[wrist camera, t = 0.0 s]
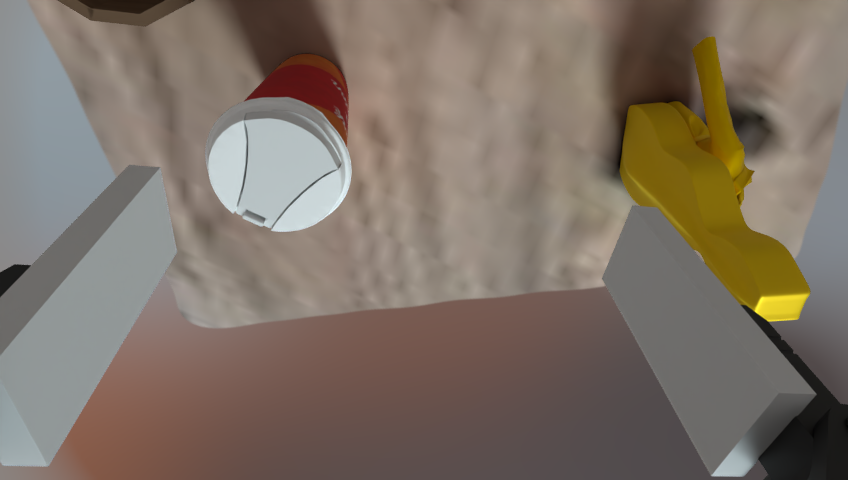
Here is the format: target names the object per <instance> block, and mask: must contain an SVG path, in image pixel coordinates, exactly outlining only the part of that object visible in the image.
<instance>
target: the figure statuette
mask: <svg viewBox="0 0 848 480" xmlns="http://www.w3.org/2000/svg"><path fill="white" fill-rule="evenodd" d="M692 52H693V56H694V60H695V64H696V68H697V72H698V77H699V82H700V87H701V92H702V97H703V103H704V109H705V114H706V119H707V124H708V128H707V127H706V125H705V124H704V123H703V121H702V120H701V119H700V118H699V117H698V116H697V115H696V114H694V113H693V112H692V111H691V110H690V109H688V108H687V107H686V106H684V105H683V104H682V103H681V102H678V101H674V102H670V103H662V102H659V103H649V104H638V105H631V106H629V108H628V114H627V121H626V127H625V133H624V138H623V147H622V156H621V164H620V174H621V178H622V180H623V183H624V185H625V187H626V189H627V191H628V193H629V194H630V196H631V197H632V199H633V200H634V201H635V202H636V203H637V204H638V205H640V206H645V207H657V208H658V209H659V210H660V211H661V213H662V214H663V215H664V216H665V217H666V218H667V220H668V221H669V222H670V223H671V224H672V225H673V227H674V228H675V229H676V230H677V231H678V233H679V234H680V235H681V236H682V237H683V238H684V240H685V241H686V242H687V243H688V244H689V245H690V247H691V248H692V249H693V250H696V251H698V252H699V253H700V254H701V255H702V257H703V259H704V262H705V264H706V265H707V266H708V268H709V269H710V270H711V271H712V272H713V273H714V275H715V276H716V277H717V278H718V279H719V280H720V282H721V283H722V284H723V285H724V286H725V288H726V289H727V290H728V291H729V292H730V293H731V295H732V296H733V297H734V298H735V299H736V300H737V302H738V303H739V304H740V305H746V306H748V307H749V308H751V309H752V310H753V311H755V312H756V313H757V314H759V315H760V316H761V317H763V318H764V319H766V320H767V321H783V320H796V319H798V318H799V315H800V312H801V310H802V308H803V306H804V303H805V301H806V299H807V298H808V296H809V295H810V288H809V286H808V284H807V282H806V280H805V278H804V277H803V275H802V273H801V271H800V270H799V268H798V266H797V264H796V262H795V260H794V259H793V257H792V255H791V254H790V252H789V251H788V250H787V249H786V248H785V246H784V245H782V244H781V243H780V242H779V241H777V240H776V239H774V238H772V237H769V236H767V235H764V234H761V233H758V232H755V231H753V230H751V229H750V228H749V227H748V226H747V225H746V223H745V221H744V218H743V216H742V213H741V209H740V206H741V205H742V201H743V200H744V187H745V186H747V185H748V184H749V183H751V182H752V178H751V176H752V175H753V173H754V171H752V170H749V169H748V168H747V167H746V166H745V164H744V157H745V153H744V149H743V148H744V146H743V144H742V143H741V142H740V141H739V139H738V137H737V135H736V133H735V131H734V129H733V125H732V120H731V117H730V113H729V109H728V106H727V101H726V93H725V87H724V81H723V77H722V72H721V68H720V63H719V57H718V52H717V47H716V40H715V37H707V38H705V39H703V40H702V41H701V42H700V43H699V44H697V45H696V46H695V47H694V48H693V49H692Z"/></svg>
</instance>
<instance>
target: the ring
mask: <svg viewBox="0 0 848 480" xmlns="http://www.w3.org/2000/svg"><path fill="white" fill-rule="evenodd" d="M58 1H59V2H61V3H63V4H64V5H66V6H68V7H69V8H71V9H73V10H74V11H76V12H78V13H79V14H81V15H83V16H84V17H86V18H88V19H89V20H92V21H101V22H110V23H119V24H128V25H137V26H147V25H149V24H151V23H153V22H155V21H156V20H158V19H160V18H162V17H164V16H166V15H168V14H170V13H172V12H174V11H175V10H177V9H179V8H181V7H183V6H185V5H187V4H189V3H191V2H193V1H194V0H58Z"/></svg>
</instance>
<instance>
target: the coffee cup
mask: <svg viewBox="0 0 848 480" xmlns="http://www.w3.org/2000/svg"><path fill="white" fill-rule="evenodd" d="M347 134H348V88H347V84H346V81H345V79H344V77H343V75H342V73H341V72H340V70H339V69H338V68H337V67H336V66H335V65H334V64H333V63H332V62H330V61H329V60H327V59H325V58H323V57H321V56H318V55H314V54H299V55H295V56H293V57H290V58H289V59H287V60H285V61H284V62H283V63H282V64H280V65H279V66H278V67H277V68H276V69H275V70H274V71H273V72H272V73H271V74H270V75H269V76H268V77H267V78H266V79H265V80H264V81H263V82H262V83H261V84H260V85H259V86H258V87H257V88H256V89H255V90H254V91H253V92H252V93H251V95H250V96H249V97H248V98H247V99H246V100H245V101H244V102H241V103H239V104H237V105H235V106H233V107H231V108H230V109H228V110H227V111H226V112H225V113H223V114H222V115H221V116H220V117H219V119H218V120H217V121H216V122H215V123H214V125H213V127H212V129H211V131H210V132H209V135H208V139H207V142H206V150H205V157H206V165H207V169H208V174H209V178H210V182H211V185H212V187H213V189H214V191H215V193H216V195H217V196H218V198H219V199H220V201H221V202H222V203H223V204H224V205H225V207H226V208H227V209H228V210H230V211H231V212H232V213H234V211H236V213H237V214H239V215H242V216H243V219H245V220H247V221H250V222H252V223H254V224H256V225H259V226H261V227H262V226H263V225H264V226H266V227H269V228H271V227H272V229H271V231H279V232H288V231H296V230H301V229H304V228H307V227H310V226H312V225H314V224H316V223H318V222H319V221H321V220H322V219H324V218H325V217H326V216H328V215H329V214H331V213H332V212H333V211H334V210H335V209H336V208H337V207H338V206H339V205H340V203H341V202H342V201H343V199H344V198H345V196H346V194H347V192H348V189H349V185H350V182H351V172H352V171H351V160H350V156H349V152H348V150H347Z"/></svg>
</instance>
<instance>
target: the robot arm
mask: <svg viewBox="0 0 848 480" xmlns="http://www.w3.org/2000/svg"><path fill="white" fill-rule="evenodd" d="M176 253H177V249H176V244H175V239H174V234H173V229H172V224H171V219H170V214H169V209H168V204H167V199H166V194H165V189H164V184H163V179H162V174H161V169H160V167H148V166H136V165H129V166H128V167H127V168H126V169H125V170H124V171H123V172H122V173H121V174H120V175H119V176H118V177H117V178H116V179H115V180H114V181H113V182H112V183H111V184H110V185H109V186H108V187H107V188H106V189H105V190H104V191H103V192H102V193H101V194H100V196H98V198H97V199H96V200H95V201H94V202H93V203H92V204H91V205H90V206H89V207H88V208H87V209H86V210H85V211H84V212H83V213H82V214H81V215H80V216H79V217H78V218H77V219H76V220H75V221H74V222H73V223H72V224H71V225H70V226H69V227H68V228H67V229H66V230H65V231H64V232H63V234H61V236H60V237H59V238H58V239H57V240H56V241H55V242H54V243H53V244H52V245H51V246H50V247H49V248H48V249H47V250H46V251H45V252H44V253H43V254H42V255H41V256H40V257H39V258H38V259H37V260H36V261H35V262H34V263H33V264H32V265H13V266H11V267H9V268H7V269H6V270H4V271H2V272H0V462H1V463H2V465H3V466H49V464H50V463H51V461H52V459H53V458H54V456H55V455H56V453H57V451H58V449H59V448H60V446H61V445H62V443H63V441H64V439H65V438H66V436H67V435H68V433H69V431H70V430H71V428H72V426H73V425H74V423H75V421H76V420H77V418H78V416H79V415H80V413H81V411H82V410H83V408H84V406H85V404H86V403H87V401H88V400H89V398H90V396H91V395H92V393H93V391H94V390H95V388H96V386H97V385H98V383H99V381H100V380H101V378H102V376H103V374H104V373H105V371H106V370H107V368H108V366H109V365H110V363H111V361H112V360H113V358H114V356H115V355H116V353H117V351H118V350H119V348H120V346H121V344H122V343H123V341H124V340H125V338H126V336H127V335H128V333H129V331H130V330H131V328H132V326H133V325H134V323H135V321H136V320H137V318H138V316H139V315H140V313H141V311H142V310H143V308H144V306H145V305H146V303H147V301H148V300H149V298H150V296H151V295H152V293H153V291H154V290H155V288H156V286H157V285H158V283H159V281H160V280H161V278H162V276H163V275H164V273H165V271H166V270H167V268H168V266H169V265H170V263H171V261H172V260H173V258H174V256H175V255H176ZM602 279H603V281H604V283H605V285H606V287H607V288H608V290H609V292H610V294H611V296H612V298H613V299H614V301H615V303H616V305H617V307H618V308H619V310H620V312H621V314H622V316H623V317H624V319H625V321H626V323H627V325H628V326H629V328H630V330H631V332H632V334H633V335H634V337H635V339H636V341H637V343H638V345H639V346H640V348H641V350H642V352H643V354H644V356H645V357H646V359H647V361H648V363H649V364H650V366H651V368H652V370H653V372H654V374H655V375H656V377H657V379H658V381H659V383H660V385H661V386H662V388H663V390H664V392H665V393H666V395H667V397H668V399H669V401H670V403H671V404H672V406H673V408H674V410H675V412H676V414H677V415H678V417H679V418H680V421H681V423H682V424H683V426H684V428H685V430H686V431H687V433H688V435H689V437H690V439H691V441H692V443H693V444H694V446H695V448H696V450H697V452H698V453H699V455H700V457H701V459H702V461H703V462H704V464H705V466H706V468H707V470H708V472H709V473H710V475H711V476H742V477H743V476H745V475H746V474H747V472H748V471H749V470H750V469H751V468H752V467H753V466H754V465H755V463H756V462H757V461H758V460H759V461H760V462H761V464H762V465H763V467H764V468H765V470H766V471H767V473H768V475H767V476H766V478H765V479H764V480H848V405H845V404H840V403H839V402H838V400H837V399H836V398H835V397H834V396H833V395H832V394H831V392H830V391H829V390H828V389H827V388H826V387H825V386H824V385H823V383H822V382H821V381H820V380H819V379H818V378H817V377H816V376H815V375H814V373H813V372H812V371H811V370H810V369H809V368H808V367H807V365H806V364H805V363H804V362H803V361H802V360H801V359H800V357H799V356H798V355H797V354H793V350H792V348H791V347H790V346H789V345H788V344H787V343H786V342H785V341H784V340H781V336H780V335H779V334H778V333H777V332H776V330H775V329H774V328H773V327H772V326H771V325H770V324H769V322H768V321H767V320H766V319H764V318H763V317H761V316H760V315H759V314H757V313H756V312H755V311H753V310H752V309H751V308H749V307H748V306H746V305H740V304H739V303H738V302H737V300H736V299H735V298H734V297H733V296H732V295H731V293H730V292H729V291H728V290H727V289H726V288H725V286H724V285H723V284H722V283H721V282H720V280H719V279H718V278H717V277H716V276H715V275H714V273H713V272H712V271H711V270H710V269H709V268H708V266H707V265H706V264H705V263H704V262H703V261H702V259H701V258H700V257H699V256H698V255H697V254H696V252H695V251H694V250H693V249H692V248H691V247H690V245H689V244H688V243H687V242H686V241H685V240H684V238H683V237H682V236H681V235H680V234H679V233H678V231H677V230H676V229H675V228H674V227H673V225H672V224H671V223H670V222H669V221H668V220H667V218H666V217H665V216H664V215H663V214H662V213H661V211H660V210H659V209H658V208H657V207H645V206H632V208H631V210H630V213H629V215H628V218H627V220H626V222H625V225H624V227H623V230H622V232H621V234H620V237H619V239H618V241H617V244H616V246H615V249H614V251H613V253H612V256H611V258H610V261H609V263H608V265H607V268H606V270H605V273H604V275H603V277H602Z"/></svg>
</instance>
